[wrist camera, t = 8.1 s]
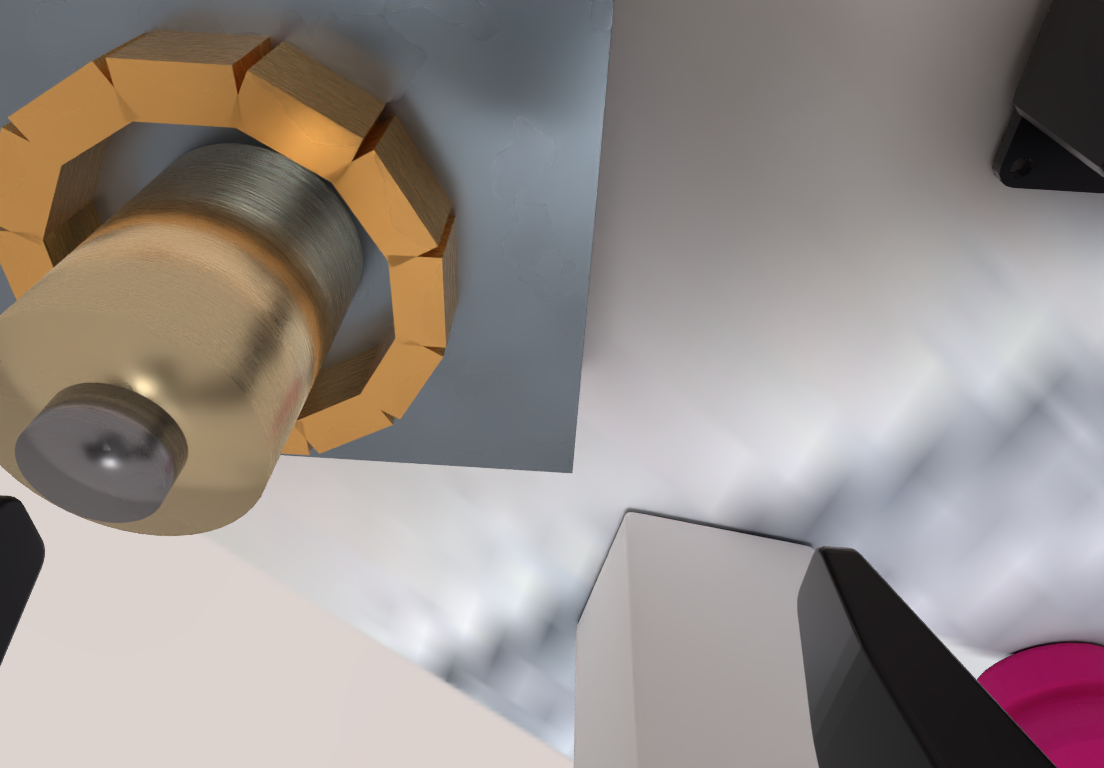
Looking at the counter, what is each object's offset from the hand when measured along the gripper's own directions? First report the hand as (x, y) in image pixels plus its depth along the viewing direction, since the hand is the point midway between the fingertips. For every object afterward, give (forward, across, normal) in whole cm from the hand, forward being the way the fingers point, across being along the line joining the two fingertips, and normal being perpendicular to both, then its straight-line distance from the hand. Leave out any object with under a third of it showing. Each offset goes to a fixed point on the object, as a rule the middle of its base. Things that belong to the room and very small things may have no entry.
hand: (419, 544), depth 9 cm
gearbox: (+13, +6, +1) cm, 15 cm away
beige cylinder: (+8, +5, +1) cm, 10 cm away
